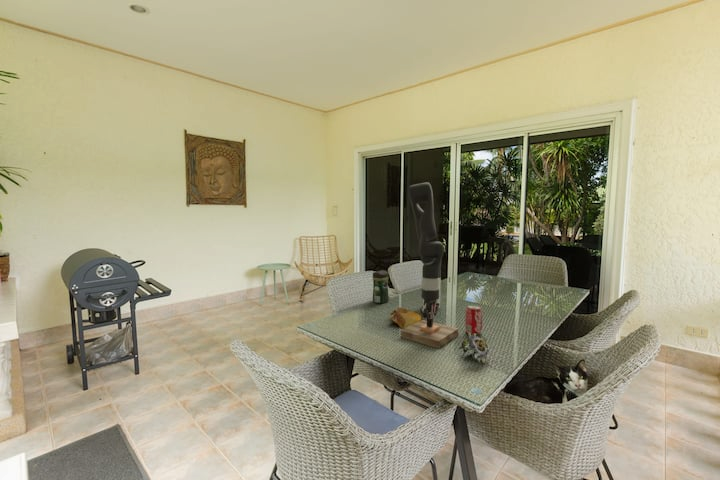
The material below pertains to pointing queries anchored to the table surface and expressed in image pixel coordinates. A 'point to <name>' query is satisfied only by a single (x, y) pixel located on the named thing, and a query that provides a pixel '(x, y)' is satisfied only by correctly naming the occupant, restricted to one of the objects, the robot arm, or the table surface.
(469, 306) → the soda can
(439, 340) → the button plate
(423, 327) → the push button
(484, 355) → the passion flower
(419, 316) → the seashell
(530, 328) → the table surface
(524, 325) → the table surface
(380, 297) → the coffee jar
